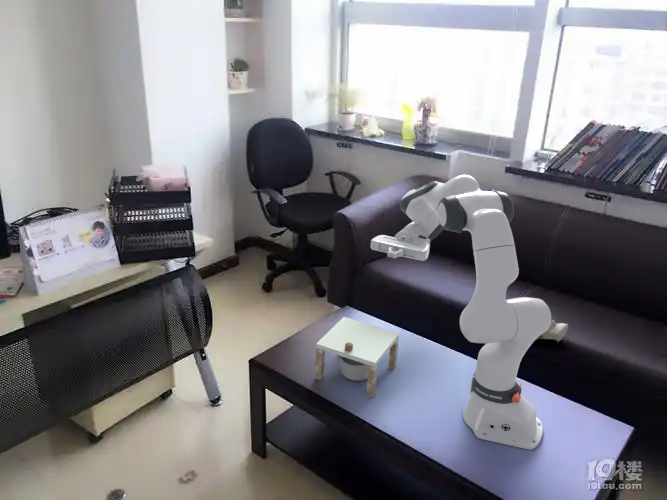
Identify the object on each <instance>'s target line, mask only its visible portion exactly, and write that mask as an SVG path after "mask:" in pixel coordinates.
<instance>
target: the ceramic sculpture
mask: <svg viewBox="0 0 667 500" xmlns="http://www.w3.org/2000/svg"><path fill="white" fill-rule="evenodd" d="M568 327H569V324H568V323H563V322H560V323H558V322H556V321H555V320H554V319H553V318H551V323H550V326H549V328H548V330H547V331H545V332H544V333H542V334H541V335H540V336H539V337H537V338H536V339H535V340H534V341H536V340H542V339H543V340H554V341H555V340H556V341H558V342H557V343H559V341H560V340H562V339H563V338H564V336H565V335H566V334H567V331H568ZM556 341H555V342H556ZM560 342H561V341H560Z"/></svg>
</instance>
